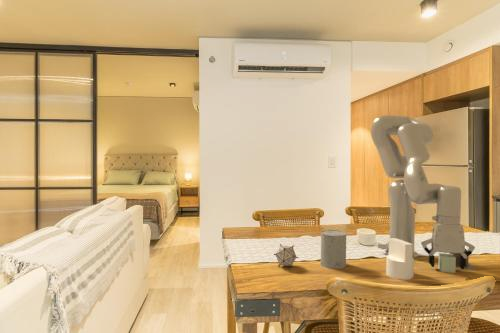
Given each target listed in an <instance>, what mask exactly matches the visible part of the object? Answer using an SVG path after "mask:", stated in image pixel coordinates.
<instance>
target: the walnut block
mask: <svg viewBox="0 0 500 333" xmlns="http://www.w3.org/2000/svg"><path fill="white" fill-rule="evenodd" d="M467 250H468V249H466V248H465V251H464V252H466V251H467ZM449 254H453V255H454V256H455V257H456V267H459V261H460V256H461V254H458V253H449ZM469 256H470V255H469ZM469 256H468V257H467V258H466V267H468V263H469V258H470V257H469Z"/></svg>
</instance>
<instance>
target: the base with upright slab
mask: <svg viewBox="0 0 500 333" xmlns="http://www.w3.org/2000/svg"><path fill="white" fill-rule="evenodd" d="M388 242H389V255H386V262H385V263H386V264H385V269H386V270H385V275H386V276H388V277H389V278H391V279H396V280H402V281H403V280H404V281H405V280H406V281H407V280H413V278H414V277H415V258H414V259H413V258H412V253H413V244H411V243H408V242H406V241H403V240H400V239H397V238H390V237H389V238H388Z"/></svg>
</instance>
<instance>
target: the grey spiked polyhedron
mask: <svg viewBox="0 0 500 333" xmlns="http://www.w3.org/2000/svg"><path fill="white" fill-rule="evenodd" d="M279 245H280V247H279V249H278V250H277V252H276V253H273V255H274V256H275V257H276V260H277V262H278V265H277V267H278V268H279V267H280V266H283V267H284V266H285V267H290V269H293V264H294V262H295V261H296V259H298V258H299V257H298V256H297V254H296V252H295V250H294V247H295V245H294V244H293V245H292V246H286V245H282V243H280V244H279Z"/></svg>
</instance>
